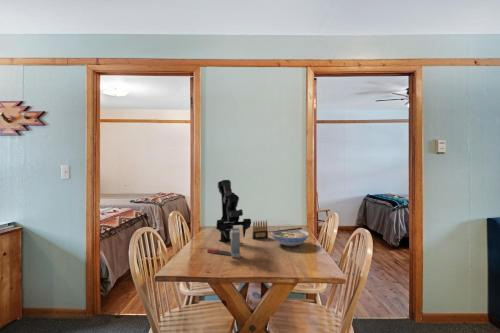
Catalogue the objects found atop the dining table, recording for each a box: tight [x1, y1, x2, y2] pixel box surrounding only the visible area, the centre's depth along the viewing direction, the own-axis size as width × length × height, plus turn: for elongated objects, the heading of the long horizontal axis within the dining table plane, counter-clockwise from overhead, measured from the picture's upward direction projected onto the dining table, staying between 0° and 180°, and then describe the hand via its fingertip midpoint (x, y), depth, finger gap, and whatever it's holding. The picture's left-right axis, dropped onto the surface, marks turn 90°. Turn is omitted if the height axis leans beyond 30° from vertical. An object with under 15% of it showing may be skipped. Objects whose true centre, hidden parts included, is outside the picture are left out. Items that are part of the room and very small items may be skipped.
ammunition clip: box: [251, 219, 269, 240], centre depth 180 cm, size 11×2×12 cm, turn 108°
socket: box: [230, 228, 241, 254], centre depth 142 cm, size 4×4×12 cm
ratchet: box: [207, 247, 241, 259], centre depth 145 cm, size 7×20×5 cm, turn 71°
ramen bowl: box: [269, 227, 310, 248], centre depth 164 cm, size 25×23×8 cm
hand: (235, 237), depth 141 cm, fingers open, 9 cm apart
